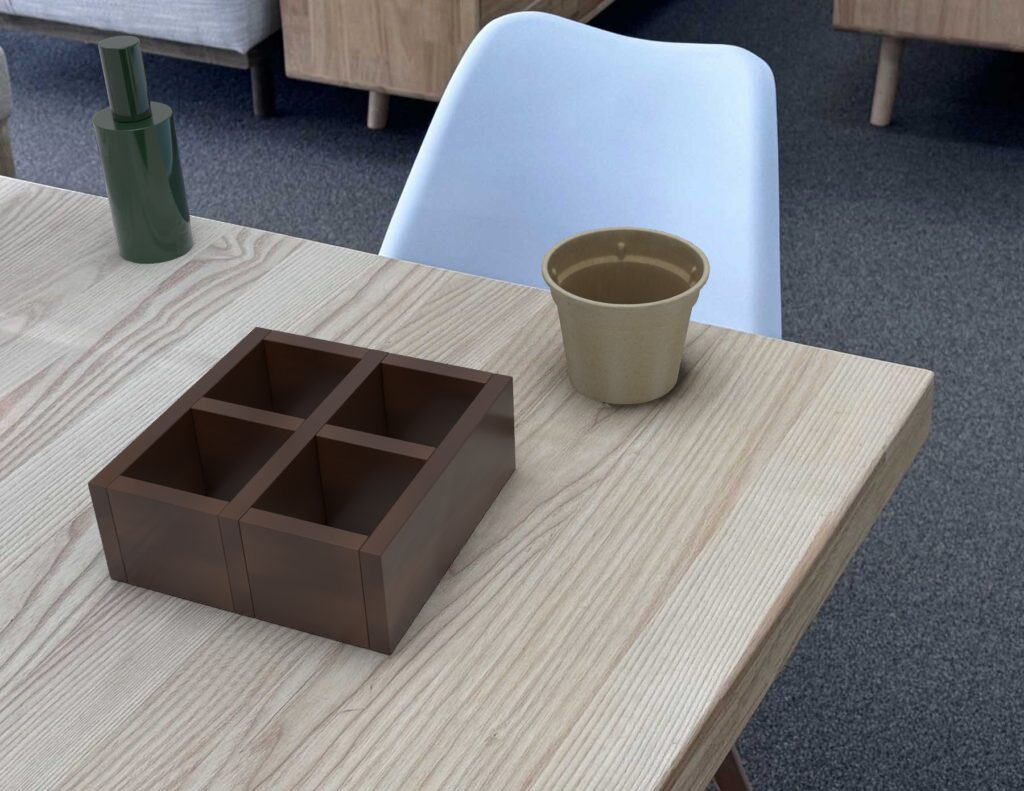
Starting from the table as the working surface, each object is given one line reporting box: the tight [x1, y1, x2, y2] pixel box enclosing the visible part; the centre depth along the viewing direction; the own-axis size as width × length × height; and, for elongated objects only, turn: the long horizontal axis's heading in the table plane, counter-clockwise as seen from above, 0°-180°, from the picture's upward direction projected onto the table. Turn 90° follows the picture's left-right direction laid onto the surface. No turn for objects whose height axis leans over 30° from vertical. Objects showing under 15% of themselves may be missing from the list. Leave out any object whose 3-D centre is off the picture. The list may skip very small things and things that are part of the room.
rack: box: [87, 326, 517, 655], centre depth 72 cm, size 16×16×6 cm
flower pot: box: [541, 226, 711, 405], centre depth 81 cm, size 9×9×9 cm
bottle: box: [91, 35, 195, 265], centre depth 94 cm, size 5×5×16 cm
